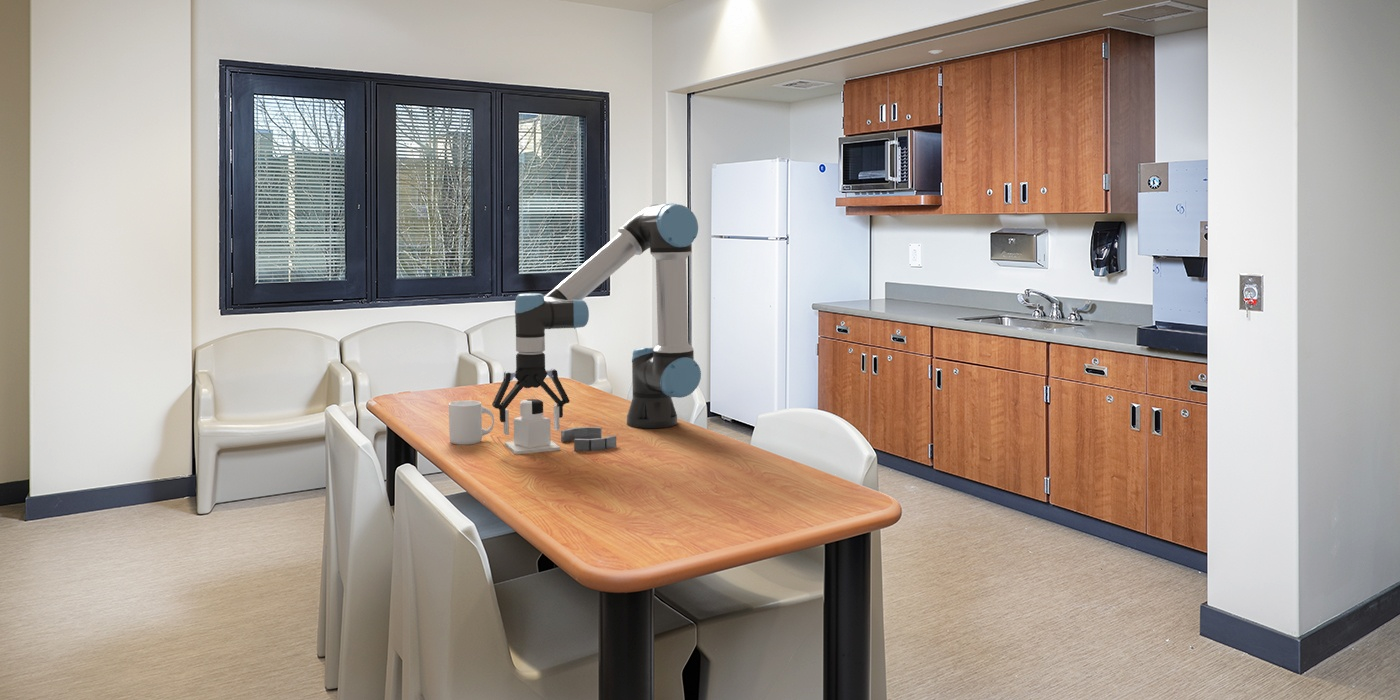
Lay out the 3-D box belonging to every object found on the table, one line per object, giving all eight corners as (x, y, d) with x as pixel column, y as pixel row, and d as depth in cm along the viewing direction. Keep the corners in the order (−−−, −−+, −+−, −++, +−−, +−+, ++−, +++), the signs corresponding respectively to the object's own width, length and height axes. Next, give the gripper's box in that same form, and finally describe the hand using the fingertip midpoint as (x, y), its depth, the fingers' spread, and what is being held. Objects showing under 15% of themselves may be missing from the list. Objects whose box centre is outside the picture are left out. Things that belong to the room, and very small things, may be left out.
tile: (548, 441, 264) (547, 438, 264) (560, 450, 253) (560, 447, 253) (504, 444, 259) (504, 441, 259) (515, 454, 248) (515, 451, 248)
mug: (496, 443, 261) (496, 404, 260) (451, 446, 257) (450, 406, 256) (492, 436, 269) (491, 398, 268) (448, 439, 265) (447, 401, 264)
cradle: (599, 436, 270) (599, 425, 270) (619, 448, 255) (619, 437, 255) (559, 439, 265) (558, 429, 265) (576, 452, 250) (576, 441, 250)
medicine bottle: (536, 440, 261) (535, 396, 259) (551, 444, 256) (550, 400, 254) (513, 444, 256) (512, 399, 254) (528, 448, 251) (527, 403, 249)
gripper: (572, 348, 261) (573, 425, 264) (479, 353, 251) (481, 432, 254) (580, 351, 254) (581, 430, 257) (485, 356, 244) (487, 438, 247)
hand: (531, 432), depth 255 cm, fingers open, 13 cm apart
